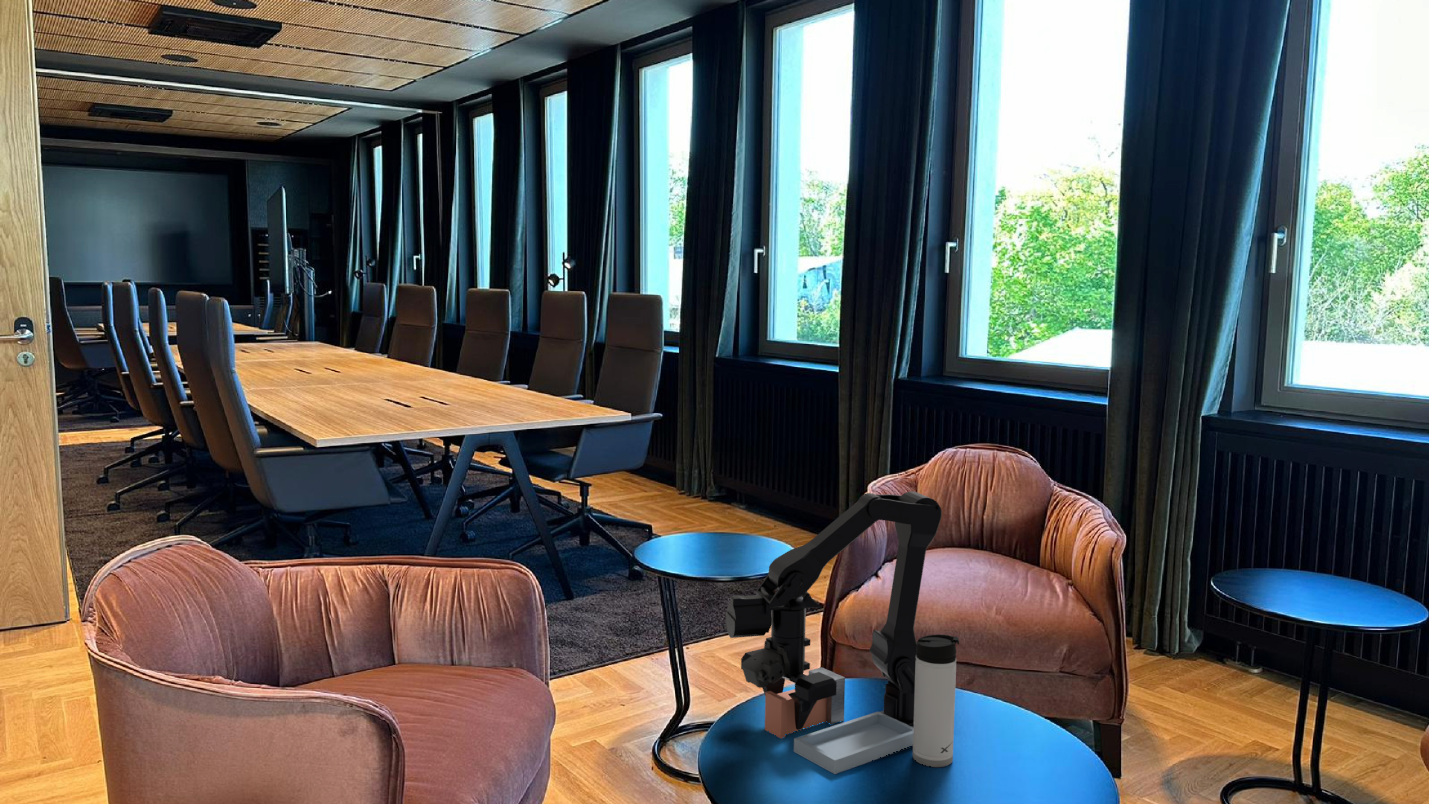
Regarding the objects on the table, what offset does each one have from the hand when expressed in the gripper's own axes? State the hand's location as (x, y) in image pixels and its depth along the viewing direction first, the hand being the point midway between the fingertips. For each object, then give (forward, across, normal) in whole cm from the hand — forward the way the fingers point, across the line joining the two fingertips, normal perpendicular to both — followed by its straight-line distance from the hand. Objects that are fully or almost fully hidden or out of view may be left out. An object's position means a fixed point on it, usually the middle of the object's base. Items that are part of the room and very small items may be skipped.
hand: (786, 722), depth 173 cm
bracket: (+1, 0, +9) cm, 9 cm away
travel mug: (+1, +22, +12) cm, 25 cm away
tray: (+1, +12, +5) cm, 13 cm away
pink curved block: (+1, 0, +5) cm, 5 cm away
